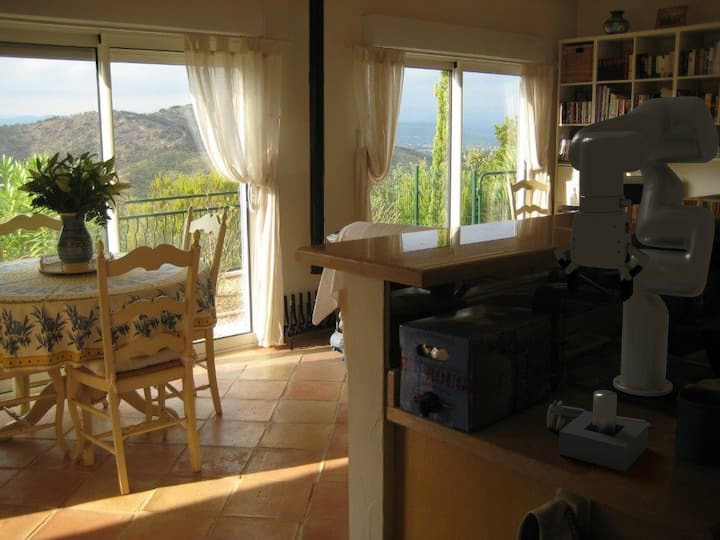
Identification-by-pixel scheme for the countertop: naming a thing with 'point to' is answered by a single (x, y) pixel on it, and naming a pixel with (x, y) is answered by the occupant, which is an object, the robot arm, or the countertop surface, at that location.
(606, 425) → the steel pin
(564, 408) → the caliper
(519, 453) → the countertop surface
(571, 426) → the bore block
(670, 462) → the countertop surface
